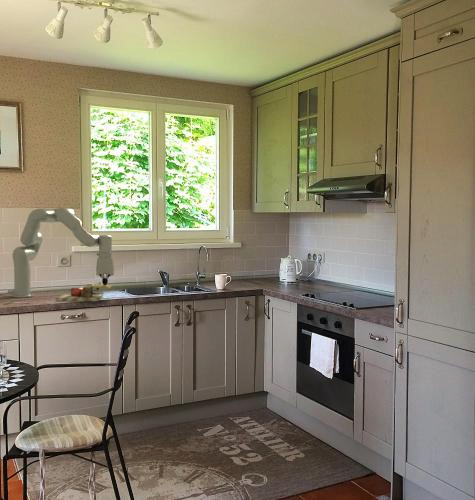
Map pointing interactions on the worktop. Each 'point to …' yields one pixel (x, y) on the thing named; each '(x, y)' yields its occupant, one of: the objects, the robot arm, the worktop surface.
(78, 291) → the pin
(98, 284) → the flap
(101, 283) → the hinge
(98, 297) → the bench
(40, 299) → the worktop surface
